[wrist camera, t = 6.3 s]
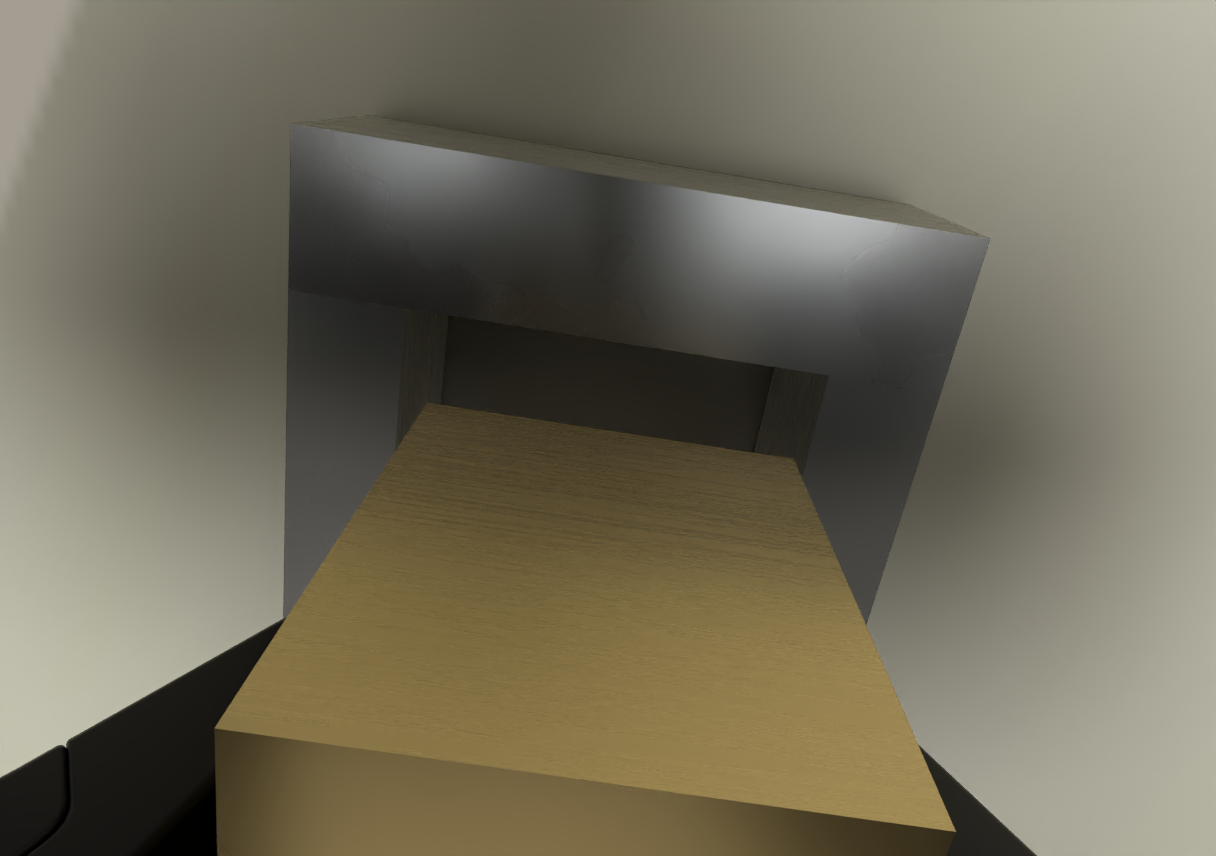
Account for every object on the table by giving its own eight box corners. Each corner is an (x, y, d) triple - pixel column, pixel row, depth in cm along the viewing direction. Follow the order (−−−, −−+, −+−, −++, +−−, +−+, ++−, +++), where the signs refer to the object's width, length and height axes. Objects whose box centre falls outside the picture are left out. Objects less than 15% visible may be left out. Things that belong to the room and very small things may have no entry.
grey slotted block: (910, 204, 13) (990, 238, 10) (682, 1013, 19) (690, 1170, 16) (368, 114, 12) (290, 124, 9) (327, 967, 19) (275, 1118, 16)
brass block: (793, 458, 9) (957, 831, 5) (719, 745, 11) (787, 1246, 6) (426, 402, 9) (214, 728, 4) (402, 701, 11) (224, 1178, 6)
